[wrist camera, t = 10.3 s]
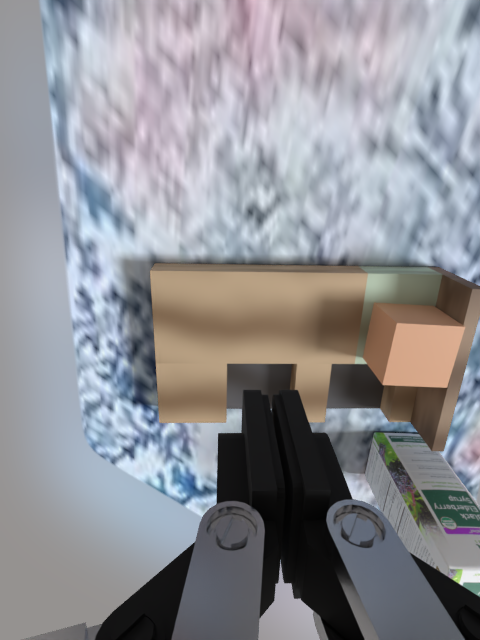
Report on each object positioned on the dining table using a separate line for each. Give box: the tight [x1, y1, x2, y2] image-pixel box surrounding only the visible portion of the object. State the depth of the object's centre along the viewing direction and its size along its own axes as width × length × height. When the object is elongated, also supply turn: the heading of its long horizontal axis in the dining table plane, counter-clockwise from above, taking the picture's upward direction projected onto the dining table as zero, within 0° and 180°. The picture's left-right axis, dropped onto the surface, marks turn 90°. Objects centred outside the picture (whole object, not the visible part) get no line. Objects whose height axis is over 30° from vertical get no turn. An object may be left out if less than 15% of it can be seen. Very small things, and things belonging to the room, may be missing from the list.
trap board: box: [150, 263, 480, 451], centre depth 32 cm, size 14×24×6 cm, turn 89°
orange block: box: [363, 302, 465, 388], centre depth 30 cm, size 5×5×4 cm
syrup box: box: [365, 432, 480, 597], centre depth 34 cm, size 6×6×14 cm
